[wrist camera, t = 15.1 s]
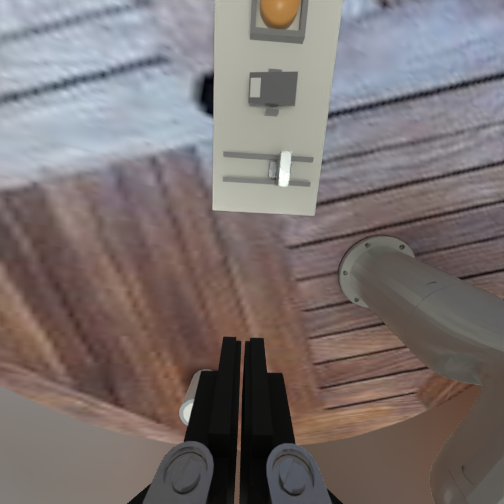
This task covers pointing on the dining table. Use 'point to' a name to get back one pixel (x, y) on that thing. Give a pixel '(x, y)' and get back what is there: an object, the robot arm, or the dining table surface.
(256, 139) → the switch panel
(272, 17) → the push button
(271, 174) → the grey slider handle
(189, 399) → the shot glass
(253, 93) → the rocker switch
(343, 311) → the dining table surface
